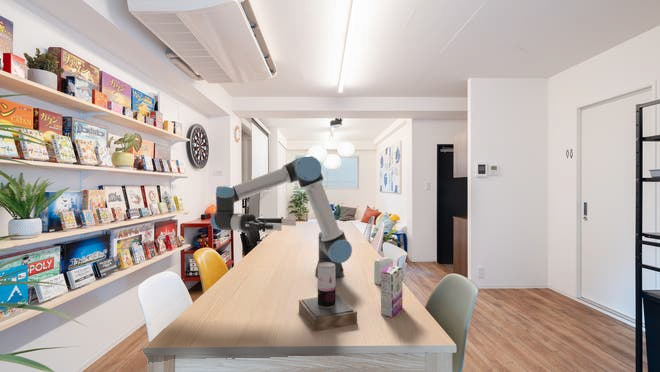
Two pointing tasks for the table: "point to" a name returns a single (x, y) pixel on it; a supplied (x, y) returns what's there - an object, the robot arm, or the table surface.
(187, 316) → the table surface
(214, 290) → the table surface
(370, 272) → the table surface
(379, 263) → the photo printer
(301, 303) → the walnut stand
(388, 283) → the candy bar box
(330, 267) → the beverage can
